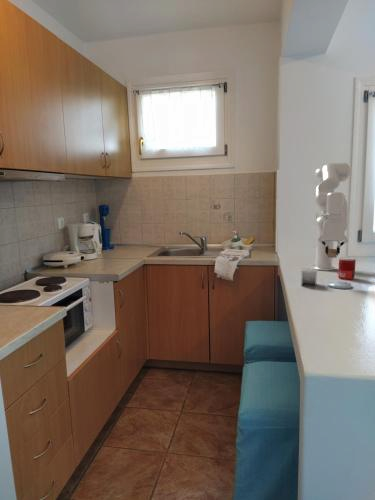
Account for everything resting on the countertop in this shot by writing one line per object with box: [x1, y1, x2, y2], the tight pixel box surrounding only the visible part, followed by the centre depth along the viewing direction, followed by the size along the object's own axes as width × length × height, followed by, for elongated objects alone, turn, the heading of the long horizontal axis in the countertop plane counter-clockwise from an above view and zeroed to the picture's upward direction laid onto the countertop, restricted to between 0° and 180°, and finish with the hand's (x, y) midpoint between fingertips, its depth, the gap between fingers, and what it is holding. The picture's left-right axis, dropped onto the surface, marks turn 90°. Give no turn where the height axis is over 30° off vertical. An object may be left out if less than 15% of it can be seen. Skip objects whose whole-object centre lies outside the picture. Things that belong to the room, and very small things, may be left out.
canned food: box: [337, 256, 357, 281], centre depth 194 cm, size 8×8×11 cm
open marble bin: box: [300, 267, 318, 288], centre depth 181 cm, size 7×7×8 cm
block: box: [328, 248, 338, 259], centre depth 181 cm, size 4×4×4 cm
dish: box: [326, 280, 352, 290], centre depth 178 cm, size 11×11×1 cm
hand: (332, 254), depth 181 cm, fingers closed on block, 4 cm apart
